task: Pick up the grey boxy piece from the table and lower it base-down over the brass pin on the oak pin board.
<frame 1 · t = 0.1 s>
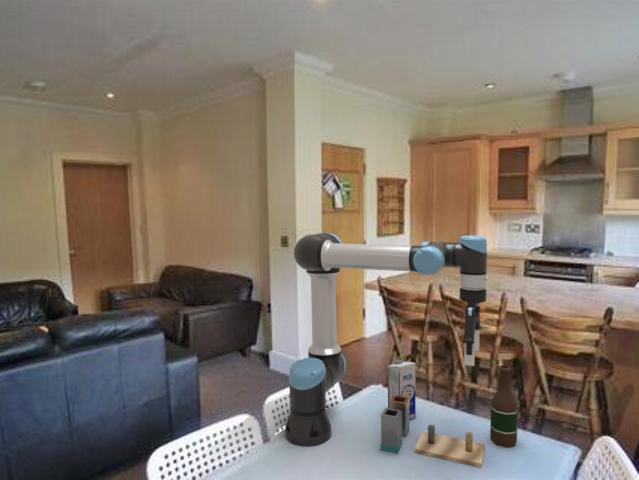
hand: (472, 357, 131), 28 cm above the table, fingers open, 13 cm apart
sleeve rust: (399, 431, 142), on the table
grey boxy piece: (391, 447, 133), on the table
beer bottle: (503, 442, 135), on the table
pin board: (449, 450, 131), on the table
milk carton: (401, 417, 152), on the table
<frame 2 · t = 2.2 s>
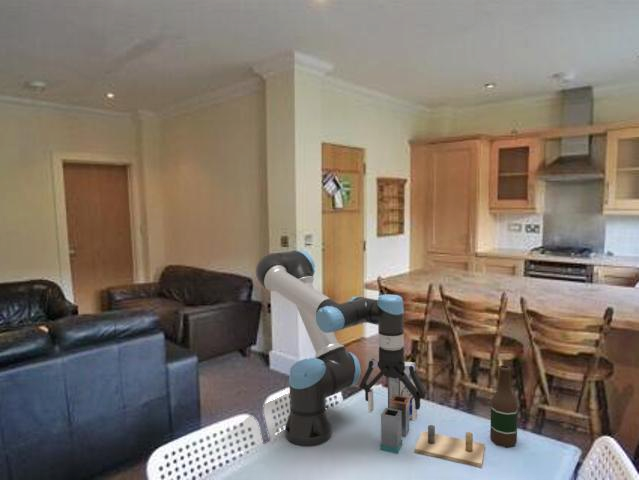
hand: (392, 415, 132), 10 cm above the table, fingers open, 13 cm apart
nothing on the table moved.
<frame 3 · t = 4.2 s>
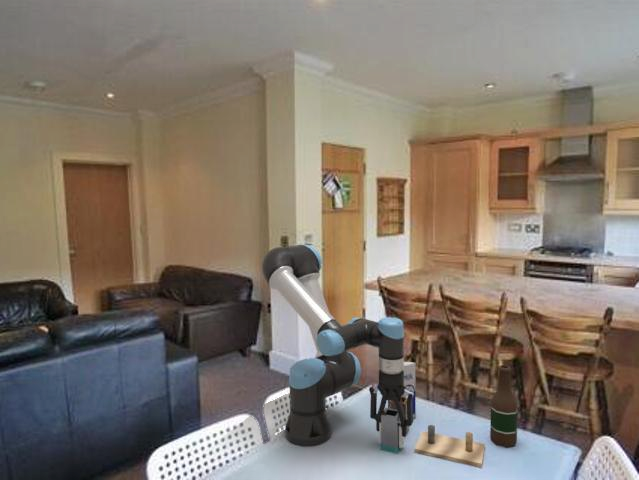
hand: (391, 443, 133), 1 cm above the table, fingers closed on grey boxy piece, 5 cm apart
grey boxy piece: (391, 447, 133), on the table, touching gripper
everything else where it was.
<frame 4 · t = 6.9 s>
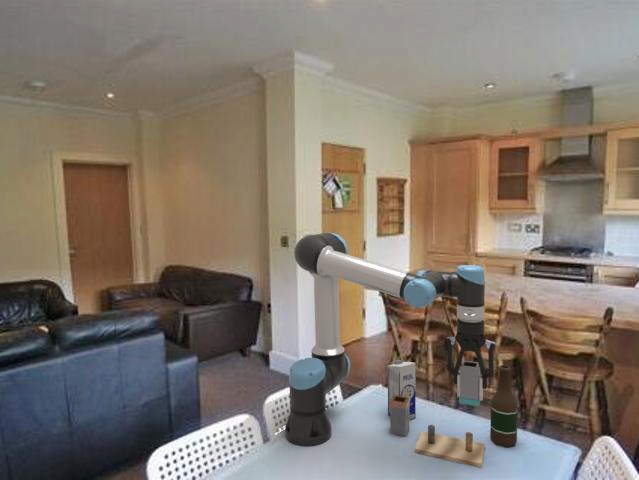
hand: (470, 396, 127), 18 cm above the table, fingers closed on grey boxy piece, 5 cm apart
grey boxy piece: (470, 400, 127), point 16 cm above the table, touching gripper
everything else where it was.
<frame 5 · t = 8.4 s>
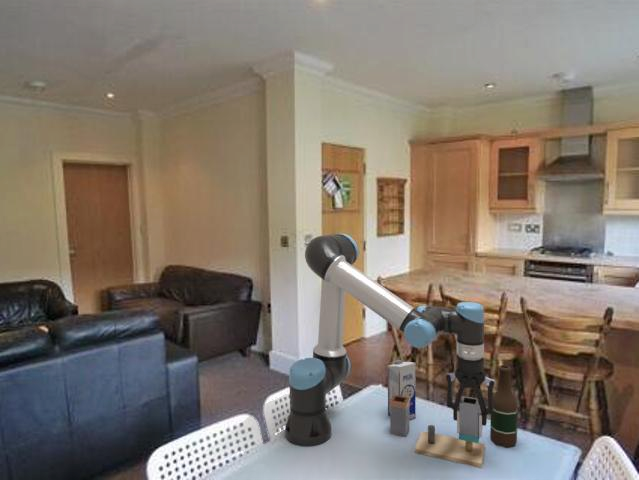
hand: (469, 432, 128), 7 cm above the table, fingers closed on grey boxy piece, 5 cm apart
grey boxy piece: (469, 436, 128), point 5 cm above the table, touching gripper
everything else where it was.
when the fingers open (4 cm above the table, at t = 9.8 s): grey boxy piece drops 2 cm, resting on pin board.
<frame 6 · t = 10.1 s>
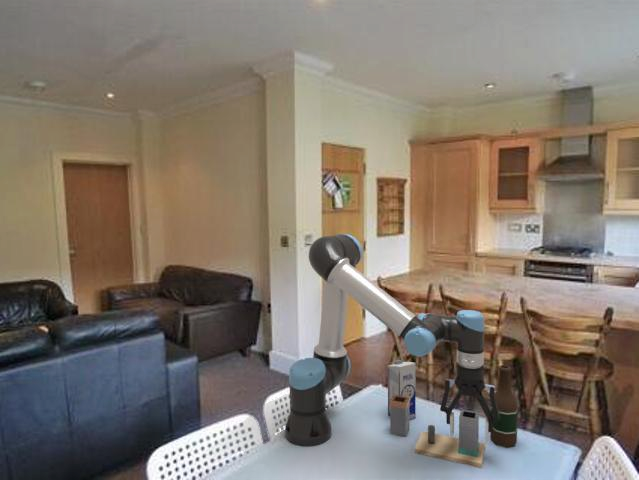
hand: (469, 438, 128), 5 cm above the table, fingers open, 9 cm apart
grey boxy piece: (468, 450, 129), point 1 cm above the table, touching pin board
everything else where it was.
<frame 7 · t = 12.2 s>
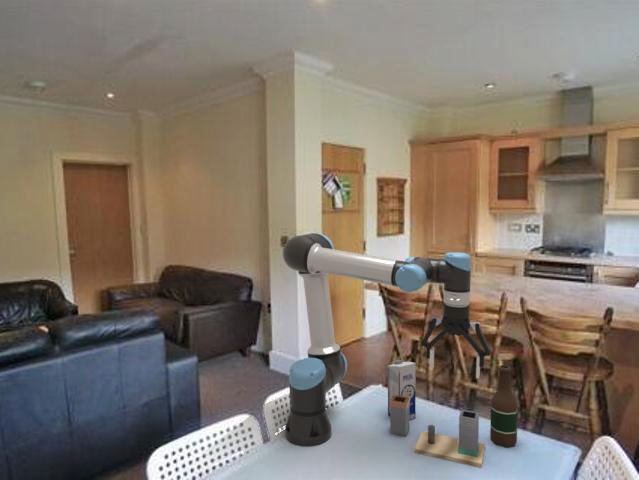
hand: (454, 372, 132), 23 cm above the table, fingers open, 13 cm apart
nothing on the table moved.
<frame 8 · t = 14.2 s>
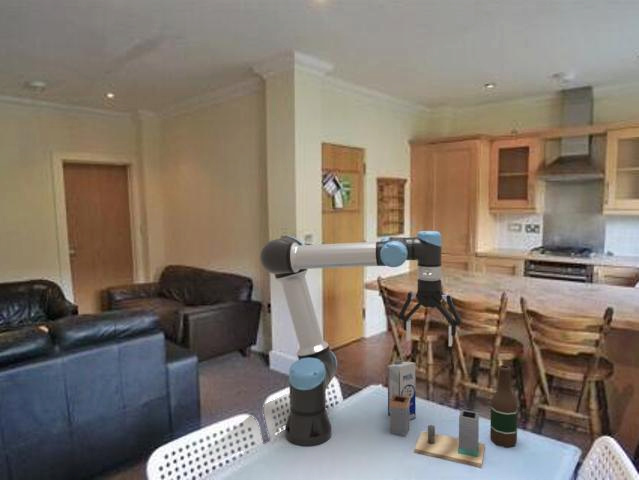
hand: (429, 342, 143), 29 cm above the table, fingers open, 13 cm apart
nothing on the table moved.
at the end: grey boxy piece 0.1 cm from the target spot on the pin board, point 1.2 cm above the pin board's base; grey boxy piece tilted 0°; the gripper is holding nothing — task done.
